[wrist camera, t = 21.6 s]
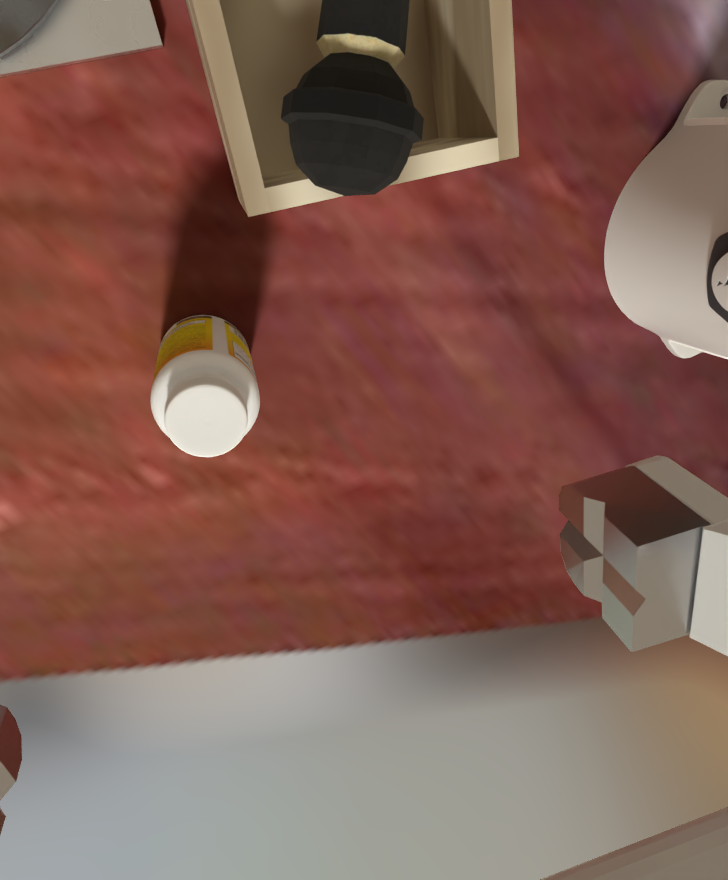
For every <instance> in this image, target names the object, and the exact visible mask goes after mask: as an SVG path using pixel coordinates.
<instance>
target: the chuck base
mask: <svg viewBox="0 0 728 880" xmlns="http://www.w3.org/2000/svg"><path fill="white" fill-rule="evenodd" d="M158 48H163V44H162V41H161V37H160V34H159V30H158V27H157V23H156V20H155V16H154V13H153V9H152V6H151V2H150V0H60V1H59V3H58V4H57V6H56V7H55V8H54V10H53V11H52V12H51V14H50V15H49V17H48V18H47V19H46V21H45V22H44V23H43V24H42V25H41V26H40V27H39V28H38V29H37V30H36V31H35V32H34V33H33V34H32V35H31V36H30V37H29V38H28V39H27V40H26V41H24V42H23V43H22V44H20V45H19V46H17V47H16V48H14V49H13V50H12V51H10V52H9V53H7V54H6V55H4V56H2V57H0V78H1V77H7V76H12V75H17V74H23V73H28V72H34V71H39V70H44V69H50V68H55V67H61V66H66V65H72V64H77V63H82V62H88V61H93V60H99V59H104V58H110V57H115V56H120V55H126V54H131V53H137V52H142V51H147V50H153V49H158Z"/></svg>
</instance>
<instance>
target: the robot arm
mask: <svg viewBox="0 0 728 880" xmlns="http://www.w3.org/2000/svg"><path fill="white" fill-rule="evenodd" d="M724 95H726V96H727V104H726V106H725V107H724V108H723V109H722V108H721V107H720V101H721V98H722V97H723V96H724ZM604 265H605V274H606V279H607V283H608V287H609V290H610V292H611V295H612V297H613V299H614V301H615V302H616V304H617V305H618V307H619V308H620V309H621V311H622V312H623V313H624V314H625V315H626V316H627V317H628V318H629V319H631V320H632V321H633V322H635V323H636V324H638V325H640V326H642V327H644V328H646V329H648V330H650V331H652V332H654V333H656V334H657V335H658V336H660V338H661V339H662V341H663V342H664V344H665V345H666V347H667V348H668V349H669V350H670V352H671V353H672V354H674V355H675V356H677V357H681V358H690V357H692V356H695V355H697V354H699V353H701V352H706V353H709V354H712V355H715V356H719V357H722V358H725V359H728V80H707V81H704V82H702V83H701V84H700V85H699V86H698V87H697V88H696V89H695V90H694V91H693V93H692V94H691V96H690V97H689V99H688V101H687V102H686V104H685V106H684V108H683V110H682V111H681V113H680V115H679V117H678V119H677V121H676V123H675V125H674V127H673V128H672V129H671V131H670V132H669V133H668V134H667V135H666V136H665V138H664V139H663V140H662V141H661V142H660V143H659V144H658V145H657V146H656V147H655V148H654V149H653V150H652V151H651V152H650V153H649V154H648V155H647V156H646V157H645V158H644V160H643V161H642V162H641V163H640V165H639V166H638V167H637V168H636V170H635V171H634V173H633V174H632V175H631V177H630V179H629V180H628V182H627V183H626V185H625V187H624V189H623V190H622V192H621V194H620V196H619V198H618V200H617V202H616V205H615V207H614V210H613V213H612V215H611V219H610V222H609V225H608V230H607V234H606V240H605V250H604ZM559 511H560V512H561V513H562V514H563V515H564V516H565V517H566V518H567V519H568V522H567V524H566V525H565V527H564V529H563V530H562V532H561V533H560V546H561V554H562V557H563V560H564V564H565V567H566V570H567V572H568V573H569V575H570V577H571V579H572V580H573V582H574V584H575V585H576V586H577V588H578V589H579V590H580V591H581V592H582V594H583V595H584V596H587V597H589V598H592V599H594V600H597V601H599V602H602V618H603V619H604V620H605V621H606V622H607V623H608V625H609V626H610V627H611V628H612V630H613V631H614V632H615V633H616V634H617V635H618V637H619V638H620V639H621V640H622V641H623V643H624V644H625V645H626V646H627V647H628V648H629V650H630V651H631V652H634V651H637V650H640V649H643V648H647V647H650V646H653V645H656V644H659V643H663V642H666V641H669V640H672V639H676V638H678V637H682V636H685V635H688V634H690V638H692V639H694V640H696V641H698V642H700V643H702V644H704V645H706V646H708V647H710V648H712V649H714V650H716V651H718V652H720V653H722V654H724V655H726V656H728V498H727V497H725V496H724V495H722V494H721V493H719V492H718V491H716V490H715V489H713V488H712V487H711V486H709V485H708V484H706V483H705V482H703V481H702V480H700V479H699V478H697V477H696V476H694V475H693V474H691V473H690V472H688V471H687V470H685V469H684V468H682V467H681V466H680V465H678V464H677V463H675V462H674V461H672V460H671V459H669V458H667V457H663V456H658V455H657V456H654V457H651V458H648V459H645V460H642V461H639V462H636V463H633V464H630V465H627V466H625V467H624V468H620V469H617V470H614V471H610V472H607V473H604V474H601V475H597V476H594V477H591V478H588V479H584V480H581V481H578V482H575V483H571V484H568V485H565V486H562V488H561V491H560V494H559ZM21 751H22V749H21V734H20V731H19V728H18V726H17V723H16V720H15V718H14V717H13V715H12V714H11V712H10V711H9V710H8V708H7V707H5V706H2V705H0V800H1V799H2V798H3V797H4V795H5V794H6V793H7V792H8V791H9V789H10V788H11V787H12V786H13V784H14V783H15V782H16V779H17V776H18V772H19V768H20V764H21V761H22V753H21ZM5 817H6V816H5V814H4V813H3V811H2V809H1V808H0V834H1V831H2V827H3V824H4V821H5ZM540 880H728V807H726V808H724V809H721V810H719V811H716V812H714V813H711V814H709V815H706V816H703V817H701V818H698V819H696V820H693V821H690V822H688V823H685V824H683V825H680V826H677V827H675V828H672V829H670V830H667V831H664V832H662V833H659V834H657V835H654V836H652V837H649V838H646V839H644V840H641V841H639V842H636V843H634V844H631V845H628V846H626V847H623V848H621V849H618V850H615V851H613V852H610V853H608V854H605V855H602V856H600V857H597V858H595V859H592V860H590V861H587V862H584V863H582V864H580V865H577V866H574V867H571V868H569V869H566V870H564V871H561V872H559V873H556V874H553V875H551V876H548V877H546V878H543V879H540Z"/></svg>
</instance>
